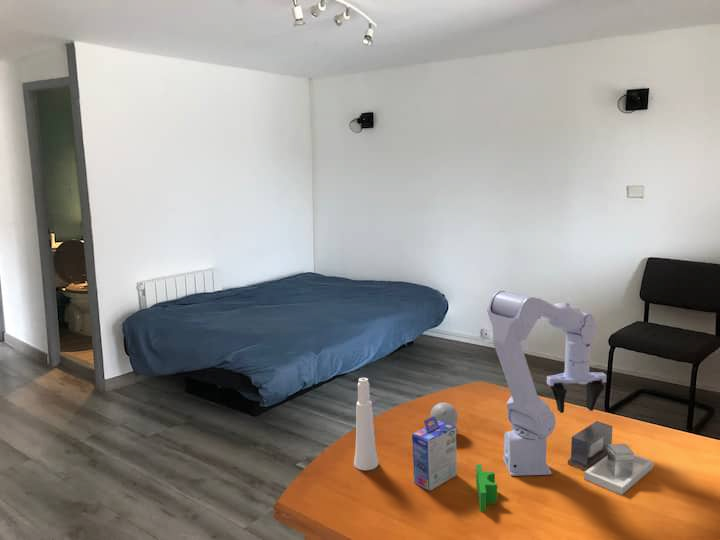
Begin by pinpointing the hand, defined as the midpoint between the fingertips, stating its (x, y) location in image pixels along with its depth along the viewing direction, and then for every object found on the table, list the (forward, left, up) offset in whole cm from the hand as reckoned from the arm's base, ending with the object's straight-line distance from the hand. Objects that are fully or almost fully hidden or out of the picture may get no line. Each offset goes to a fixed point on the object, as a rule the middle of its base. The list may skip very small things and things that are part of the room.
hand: (575, 410), depth 142 cm
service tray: (+5, -14, -9) cm, 18 cm away
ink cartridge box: (-37, -14, -10) cm, 41 cm away
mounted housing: (+2, -7, -9) cm, 12 cm away
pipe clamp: (-27, -22, -10) cm, 36 cm away
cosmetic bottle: (-53, -7, -10) cm, 54 cm away
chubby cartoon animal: (-32, +9, -10) cm, 35 cm away
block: (+5, -14, -9) cm, 18 cm away
